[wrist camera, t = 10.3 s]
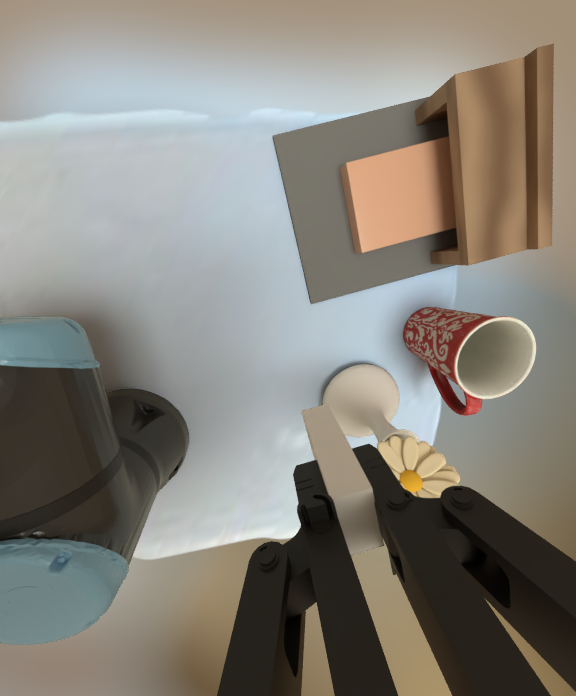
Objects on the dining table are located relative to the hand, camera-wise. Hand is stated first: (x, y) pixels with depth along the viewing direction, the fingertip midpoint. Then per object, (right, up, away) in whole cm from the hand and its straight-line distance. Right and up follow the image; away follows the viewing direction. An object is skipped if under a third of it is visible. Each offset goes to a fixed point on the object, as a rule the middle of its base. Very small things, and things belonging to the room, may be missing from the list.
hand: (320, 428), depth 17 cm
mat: (+12, +23, +22) cm, 35 cm away
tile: (+12, +23, +22) cm, 34 cm away
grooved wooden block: (+19, +25, +22) cm, 39 cm away
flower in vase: (+8, -3, +30) cm, 31 cm away
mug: (+18, +5, +29) cm, 34 cm away
